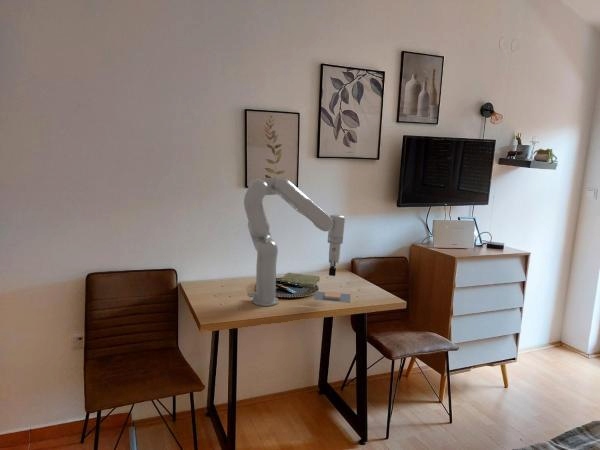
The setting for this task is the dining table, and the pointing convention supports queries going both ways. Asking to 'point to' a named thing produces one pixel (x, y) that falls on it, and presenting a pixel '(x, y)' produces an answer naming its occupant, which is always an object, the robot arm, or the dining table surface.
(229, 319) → the dining table surface
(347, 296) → the rubber mat
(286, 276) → the decorative tile
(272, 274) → the robot arm
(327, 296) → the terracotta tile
